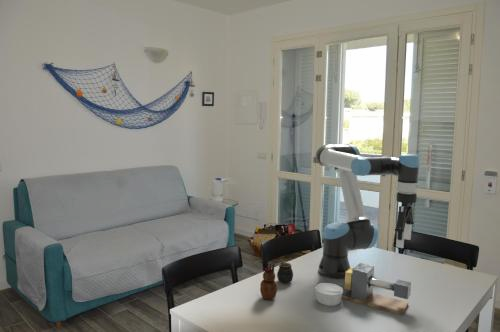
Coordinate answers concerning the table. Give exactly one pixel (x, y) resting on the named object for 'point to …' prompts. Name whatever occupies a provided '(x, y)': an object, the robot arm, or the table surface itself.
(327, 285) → the ramekin
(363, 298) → the block
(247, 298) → the table surface
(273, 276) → the wooden figurine
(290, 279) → the mate gourd
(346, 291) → the pad
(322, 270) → the robot arm
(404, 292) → the shaft
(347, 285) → the brass collar
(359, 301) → the walnut board
